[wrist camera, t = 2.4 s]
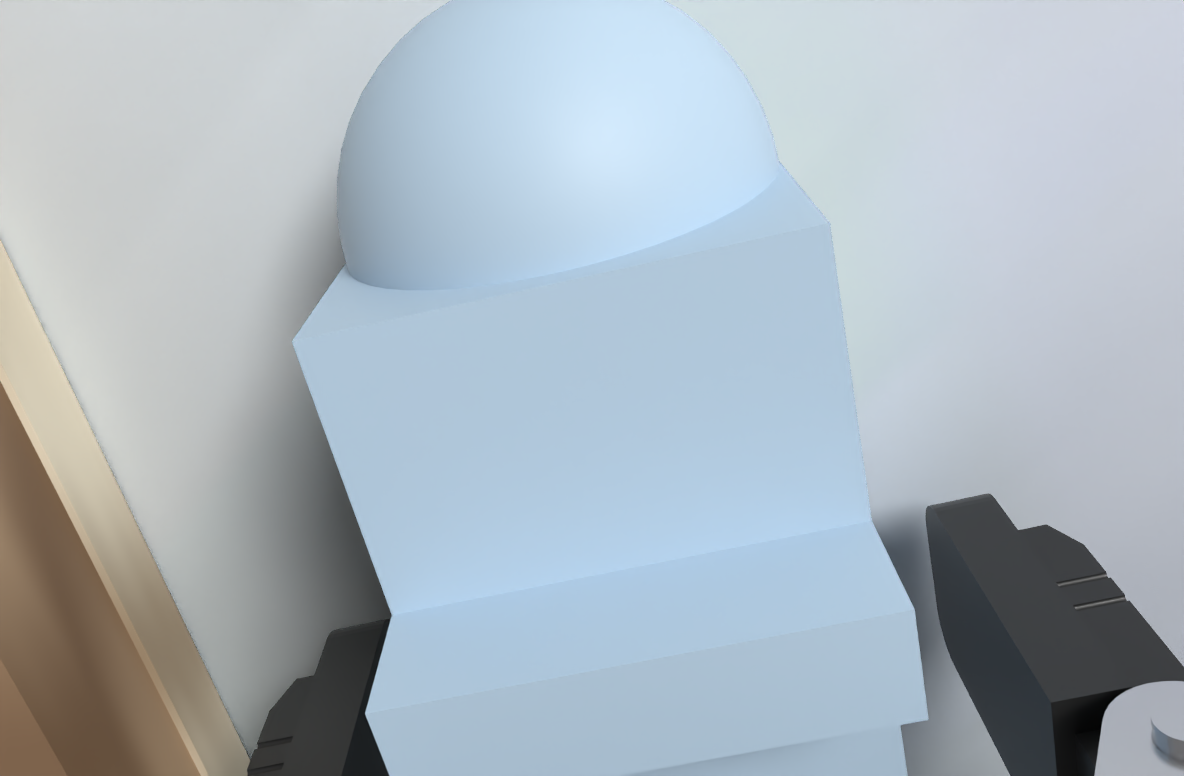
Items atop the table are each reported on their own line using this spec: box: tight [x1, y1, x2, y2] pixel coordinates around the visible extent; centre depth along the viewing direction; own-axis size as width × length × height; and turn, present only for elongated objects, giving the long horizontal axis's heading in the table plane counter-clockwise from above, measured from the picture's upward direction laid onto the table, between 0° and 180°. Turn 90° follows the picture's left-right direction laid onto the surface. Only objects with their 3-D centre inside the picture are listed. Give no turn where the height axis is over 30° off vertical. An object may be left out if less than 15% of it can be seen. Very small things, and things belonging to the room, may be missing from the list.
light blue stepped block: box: [292, 0, 929, 776], centre depth 11 cm, size 14×4×6 cm, turn 13°
